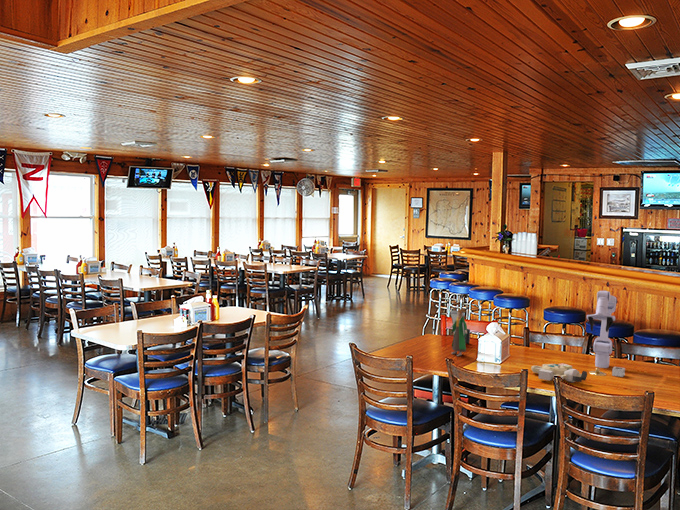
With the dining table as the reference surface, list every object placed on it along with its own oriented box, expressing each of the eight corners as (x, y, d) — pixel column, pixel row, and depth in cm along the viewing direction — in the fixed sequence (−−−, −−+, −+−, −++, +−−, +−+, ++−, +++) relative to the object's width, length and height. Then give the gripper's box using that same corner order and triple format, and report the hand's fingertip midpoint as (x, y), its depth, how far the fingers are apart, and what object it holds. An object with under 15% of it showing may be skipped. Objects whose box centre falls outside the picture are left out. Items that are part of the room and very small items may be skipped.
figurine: (446, 352, 376) (448, 306, 374) (455, 351, 380) (457, 305, 378) (462, 358, 362) (464, 310, 360) (471, 357, 365) (473, 309, 363)
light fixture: (446, 346, 395) (448, 310, 393) (454, 341, 410) (455, 307, 409) (462, 348, 390) (463, 312, 388) (469, 343, 405) (471, 308, 404)
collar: (614, 373, 329) (614, 366, 329) (624, 375, 326) (625, 368, 326) (612, 375, 325) (612, 368, 325) (622, 377, 322) (623, 370, 322)
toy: (578, 374, 301) (522, 363, 320) (577, 389, 302) (521, 378, 321) (593, 364, 321) (539, 355, 340) (592, 379, 321) (538, 369, 340)
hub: (590, 372, 335) (591, 365, 334) (607, 375, 329) (608, 368, 329) (586, 375, 328) (587, 368, 327) (604, 378, 322) (604, 371, 322)
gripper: (586, 305, 328) (583, 326, 321) (614, 306, 319) (612, 327, 312) (589, 312, 332) (586, 332, 325) (616, 313, 324) (614, 334, 317)
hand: (599, 330), depth 319 cm, fingers open, 7 cm apart
